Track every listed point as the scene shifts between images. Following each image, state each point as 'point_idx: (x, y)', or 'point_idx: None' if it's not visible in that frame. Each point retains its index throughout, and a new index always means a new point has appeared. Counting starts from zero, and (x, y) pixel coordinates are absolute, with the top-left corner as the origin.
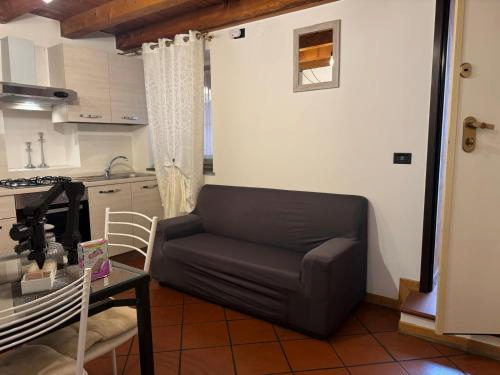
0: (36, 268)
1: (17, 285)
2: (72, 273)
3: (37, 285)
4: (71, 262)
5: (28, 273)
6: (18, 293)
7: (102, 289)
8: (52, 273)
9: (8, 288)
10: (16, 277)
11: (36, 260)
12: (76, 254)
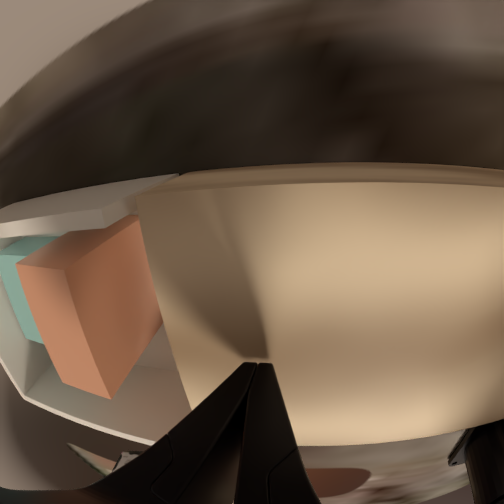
0: (383, 300)
1: (181, 86)
2: (302, 447)
3: (11, 309)
4: (488, 431)
5: (32, 272)
6: (29, 169)
7: (82, 456)
8: (120, 422)
9: (135, 34)
10: (450, 33)
11: (119, 480)
12: (476, 494)
